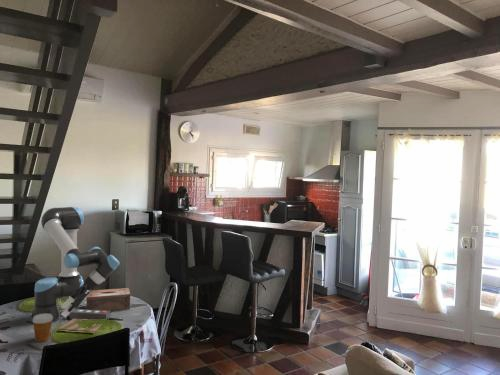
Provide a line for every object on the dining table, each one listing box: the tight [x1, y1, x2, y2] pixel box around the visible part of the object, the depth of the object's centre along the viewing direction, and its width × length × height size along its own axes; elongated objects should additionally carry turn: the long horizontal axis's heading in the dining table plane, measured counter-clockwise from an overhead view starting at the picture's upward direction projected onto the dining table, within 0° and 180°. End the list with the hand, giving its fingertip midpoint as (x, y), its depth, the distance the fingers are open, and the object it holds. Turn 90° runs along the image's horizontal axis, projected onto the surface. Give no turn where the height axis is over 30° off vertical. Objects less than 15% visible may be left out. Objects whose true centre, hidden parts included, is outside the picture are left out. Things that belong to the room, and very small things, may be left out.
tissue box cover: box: [85, 287, 131, 312], centre depth 256 cm, size 26×14×10 cm, turn 111°
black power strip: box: [69, 308, 124, 321], centre depth 236 cm, size 31×6×4 cm, turn 85°
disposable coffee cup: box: [32, 313, 53, 343], centre depth 204 cm, size 10×10×12 cm
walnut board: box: [57, 319, 102, 332], centre depth 222 cm, size 20×16×2 cm
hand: (62, 311), depth 207 cm, fingers open, 13 cm apart
